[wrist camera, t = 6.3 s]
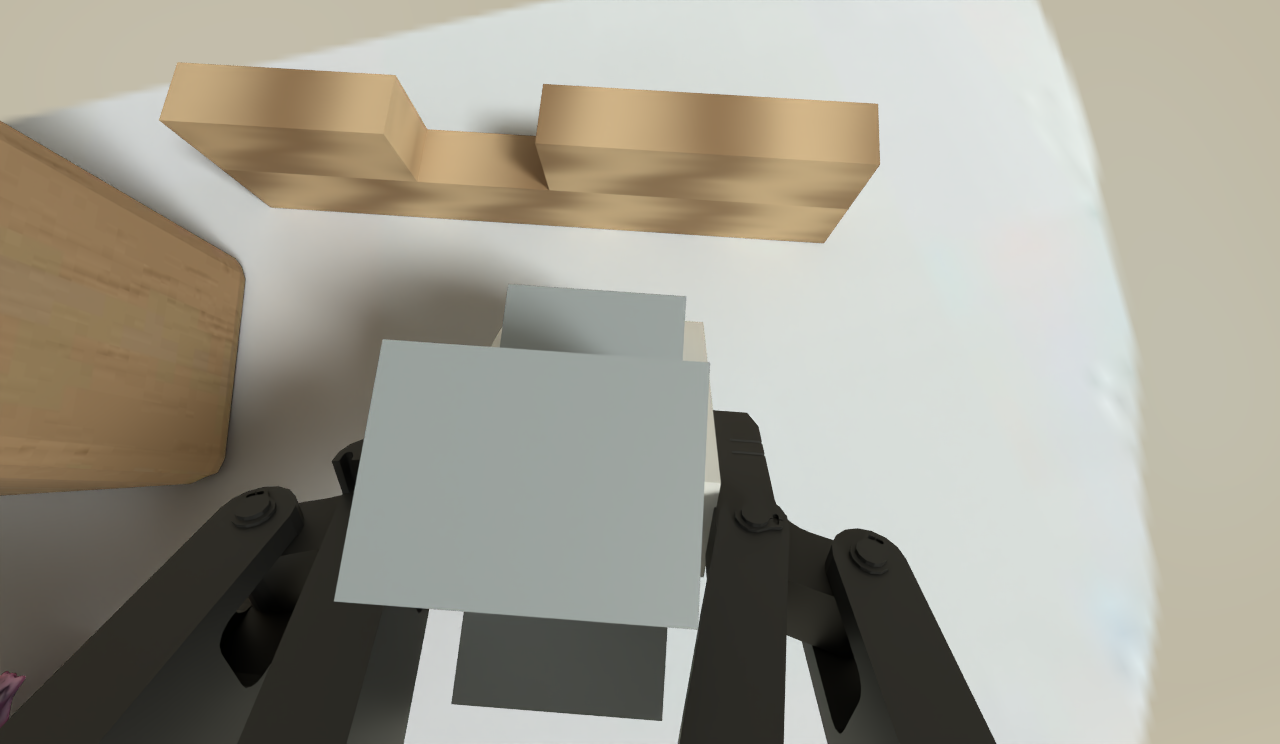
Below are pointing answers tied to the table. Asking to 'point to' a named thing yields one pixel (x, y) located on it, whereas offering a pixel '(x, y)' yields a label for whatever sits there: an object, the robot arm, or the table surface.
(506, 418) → the grey stepped block
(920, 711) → the robot arm
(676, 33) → the table surface
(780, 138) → the oak slotted plate
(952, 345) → the table surface
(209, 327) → the wooden block
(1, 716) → the flower
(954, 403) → the table surface
